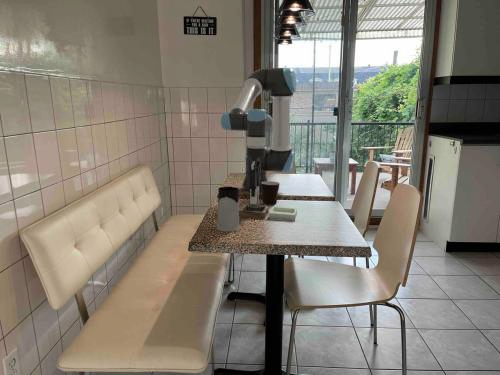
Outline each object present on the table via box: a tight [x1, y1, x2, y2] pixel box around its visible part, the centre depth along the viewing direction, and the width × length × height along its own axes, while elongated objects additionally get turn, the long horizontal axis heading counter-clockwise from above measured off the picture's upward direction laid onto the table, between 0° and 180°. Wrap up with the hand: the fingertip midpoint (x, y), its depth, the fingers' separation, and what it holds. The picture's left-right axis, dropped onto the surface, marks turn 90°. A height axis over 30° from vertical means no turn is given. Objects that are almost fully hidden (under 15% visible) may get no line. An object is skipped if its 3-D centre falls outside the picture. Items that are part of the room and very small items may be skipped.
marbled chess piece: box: [247, 190, 262, 211], centre depth 160 cm, size 6×6×12 cm
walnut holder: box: [239, 204, 270, 219], centre depth 161 cm, size 11×11×2 cm
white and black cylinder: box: [216, 186, 240, 232], centre depth 143 cm, size 9×14×15 cm, turn 172°
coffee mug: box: [261, 180, 281, 206], centre depth 180 cm, size 12×9×10 cm
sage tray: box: [268, 206, 298, 222], centre depth 158 cm, size 11×11×2 cm
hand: (254, 202), depth 160 cm, fingers open, 4 cm apart
